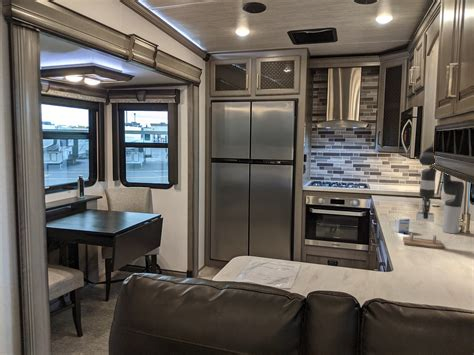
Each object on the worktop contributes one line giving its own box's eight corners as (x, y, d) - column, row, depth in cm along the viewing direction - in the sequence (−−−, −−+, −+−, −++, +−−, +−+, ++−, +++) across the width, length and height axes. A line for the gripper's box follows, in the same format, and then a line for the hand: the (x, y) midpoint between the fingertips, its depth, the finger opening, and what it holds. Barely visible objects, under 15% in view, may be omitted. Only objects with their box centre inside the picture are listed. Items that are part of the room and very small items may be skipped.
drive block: (416, 218, 217) (416, 211, 216) (433, 220, 213) (434, 213, 212) (415, 220, 213) (416, 212, 212) (433, 222, 209) (434, 214, 208)
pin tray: (402, 238, 224) (403, 230, 224) (440, 242, 217) (441, 234, 217) (404, 244, 211) (405, 235, 211) (444, 249, 204) (445, 240, 204)
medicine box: (398, 233, 237) (399, 219, 236) (393, 231, 241) (394, 218, 240) (408, 232, 239) (410, 219, 238) (404, 230, 243) (405, 217, 242)
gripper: (418, 186, 219) (416, 214, 221) (421, 189, 205) (418, 219, 207) (433, 186, 216) (430, 215, 218) (436, 190, 203) (433, 221, 205)
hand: (424, 217), depth 213 cm, fingers closed on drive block, 5 cm apart
